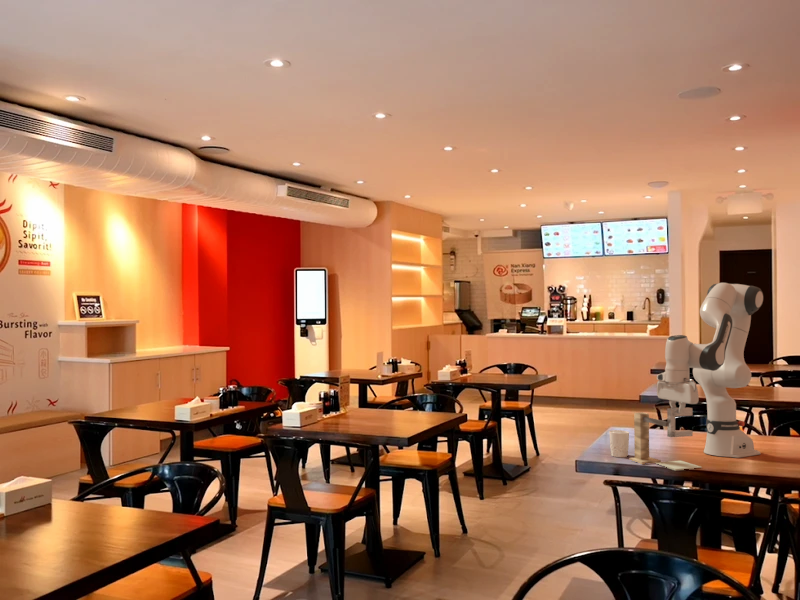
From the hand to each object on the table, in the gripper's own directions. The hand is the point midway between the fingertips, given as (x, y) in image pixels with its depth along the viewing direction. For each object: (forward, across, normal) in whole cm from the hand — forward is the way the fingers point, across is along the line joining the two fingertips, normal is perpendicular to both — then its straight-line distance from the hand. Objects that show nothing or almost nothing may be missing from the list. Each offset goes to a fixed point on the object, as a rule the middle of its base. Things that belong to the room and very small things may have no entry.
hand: (677, 412), depth 277 cm
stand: (+21, +6, +7) cm, 23 cm away
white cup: (+21, +24, +10) cm, 33 cm away
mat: (+21, 0, 0) cm, 21 cm away
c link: (+9, 0, -1) cm, 9 cm away
